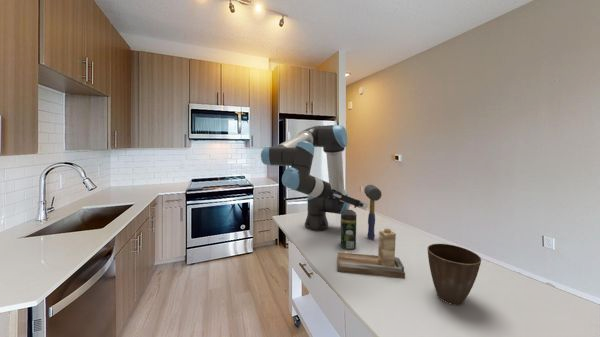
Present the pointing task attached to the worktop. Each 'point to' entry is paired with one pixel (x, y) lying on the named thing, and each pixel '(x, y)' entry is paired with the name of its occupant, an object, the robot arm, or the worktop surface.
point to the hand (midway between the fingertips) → (355, 202)
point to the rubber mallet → (372, 207)
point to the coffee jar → (348, 229)
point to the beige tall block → (386, 248)
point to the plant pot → (453, 271)
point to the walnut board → (368, 265)
